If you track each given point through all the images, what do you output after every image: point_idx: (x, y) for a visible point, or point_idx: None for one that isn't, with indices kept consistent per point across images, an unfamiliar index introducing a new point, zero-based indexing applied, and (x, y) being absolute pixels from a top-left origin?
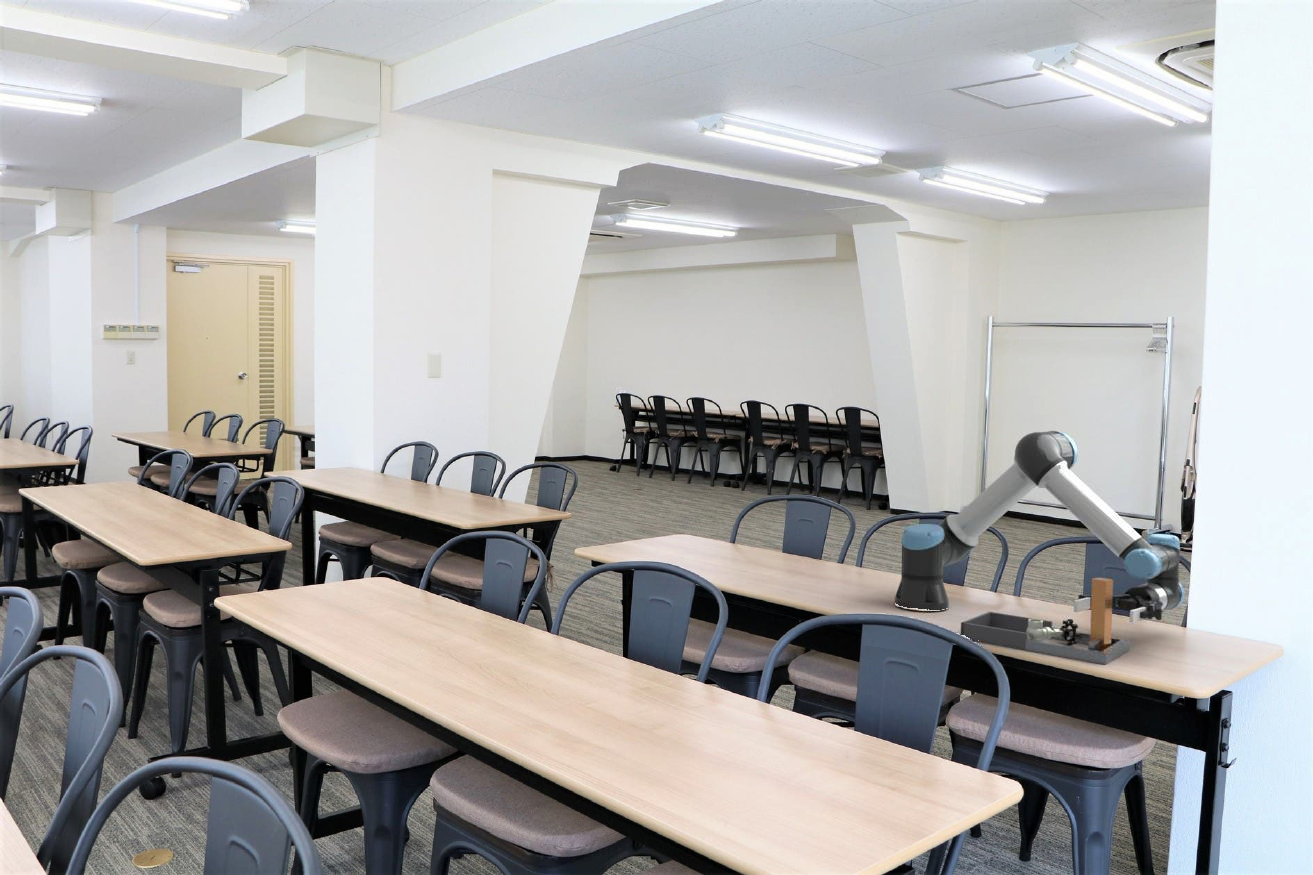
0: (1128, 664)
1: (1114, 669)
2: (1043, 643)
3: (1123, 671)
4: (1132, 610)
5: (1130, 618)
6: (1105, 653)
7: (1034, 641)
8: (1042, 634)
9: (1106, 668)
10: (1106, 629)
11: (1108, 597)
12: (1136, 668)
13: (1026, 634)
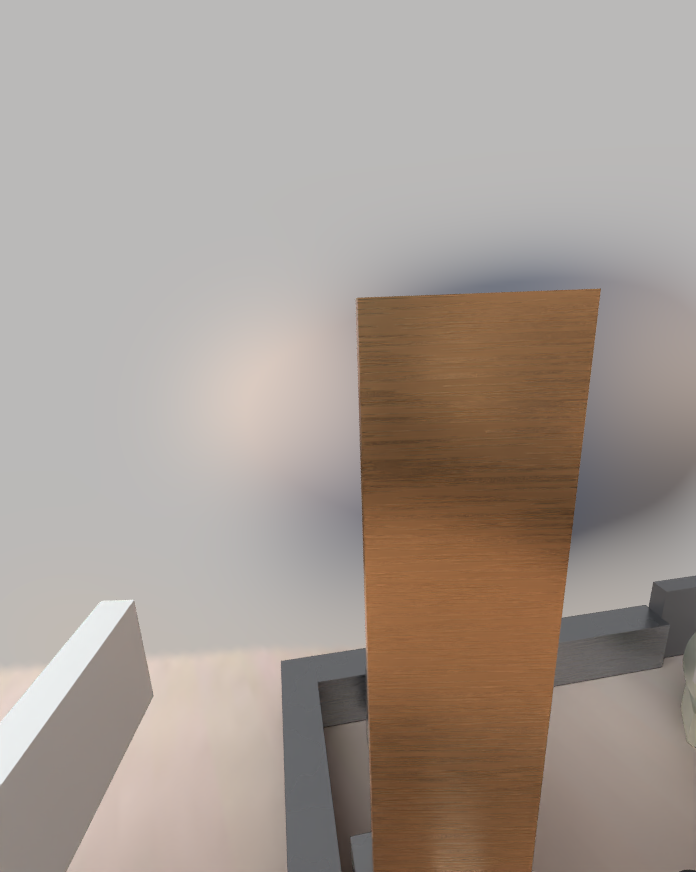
0: (186, 810)
1: (230, 669)
2: (569, 619)
3: (191, 670)
4: (107, 618)
5: (140, 665)
6: (286, 664)
7: (608, 611)
8: (692, 669)
9: (262, 658)
10: (369, 754)
11: (362, 503)
12: (137, 762)
13: (657, 590)
